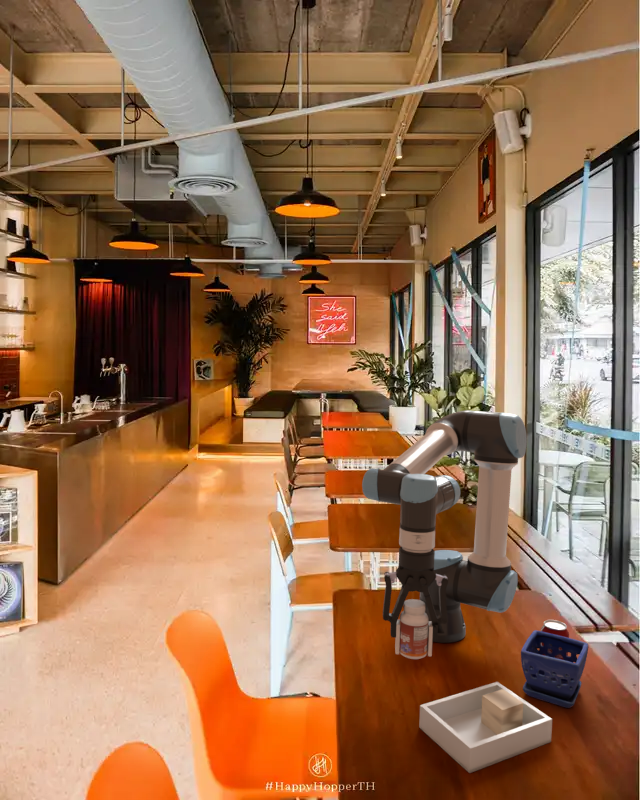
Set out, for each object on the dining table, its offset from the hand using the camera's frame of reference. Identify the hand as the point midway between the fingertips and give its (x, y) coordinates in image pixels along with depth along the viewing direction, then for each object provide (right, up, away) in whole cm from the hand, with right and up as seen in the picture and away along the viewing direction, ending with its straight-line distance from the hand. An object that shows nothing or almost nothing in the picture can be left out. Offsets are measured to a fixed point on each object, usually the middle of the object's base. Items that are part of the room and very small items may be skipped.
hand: (413, 652), depth 132 cm
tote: (+15, -17, -2) cm, 22 cm away
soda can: (+40, -15, +25) cm, 50 cm away
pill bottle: (0, 0, 0) cm, 1 cm away
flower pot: (+36, -16, +14) cm, 41 cm away
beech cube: (+19, -16, 0) cm, 25 cm away
